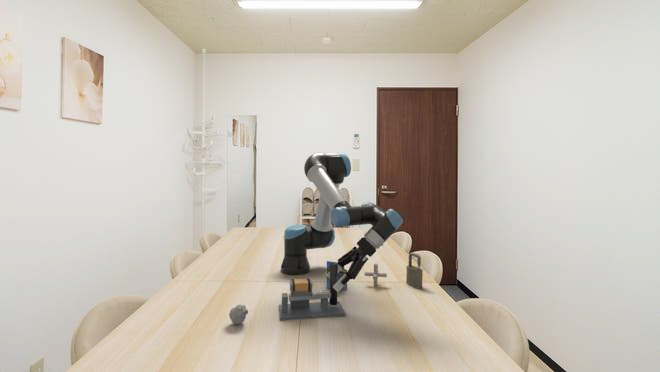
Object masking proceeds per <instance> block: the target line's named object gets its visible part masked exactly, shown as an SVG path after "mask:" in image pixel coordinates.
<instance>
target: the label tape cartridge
mask: <svg viewBox="0 0 660 372" xmlns="http://www.w3.org/2000/svg"><path fill="white" fill-rule="evenodd" d="M330 263H337V264H338V261H331V260H330V261H329V260H326V275H327V274H328V273H329V272H330ZM346 272H348V270H347V269H345V267H344V268H342V269H341V270H340V271H339V273H338V281H339V280H340V278H341V277H342V276H343V275H344V274H345V273H346ZM326 288H327V289H330V279H329V278H328V277H327V276H326ZM347 289H348V283H347V284H346V285H345V286H344V287H343V288H342V289H341V290H340V291H345V290H347Z"/></svg>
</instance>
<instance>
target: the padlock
mask: <svg viewBox="0 0 660 372" xmlns="http://www.w3.org/2000/svg"><path fill="white" fill-rule="evenodd" d="M413 257H414V258H417V266H416V265H412V263H413V262H412V261H413ZM421 261H422V258H421V256H420V255H419V254H418V253H415V252H410V253H409V254H408V265H406V279H405V280H406V282H405V283H406V284H407V285H408V286H411V287H413V288H415V289H421V288H423V274H424V273H423V271H424V270H423V269H422V268H421V264H422V262H421Z"/></svg>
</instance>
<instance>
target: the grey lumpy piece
mask: <svg viewBox="0 0 660 372" xmlns="http://www.w3.org/2000/svg"><path fill="white" fill-rule="evenodd" d="M248 314H249V310H248V308H246V304H237V305H236V306H235V307H232V308H230V310H229V314H228V316H229V319H230V321H231V323H233V324H234V325H236V326H238V325H242V324H243V323H244V322H245V320H246V318H247V317H246V316H247V315H248Z"/></svg>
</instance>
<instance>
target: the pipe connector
mask: <svg viewBox="0 0 660 372" xmlns="http://www.w3.org/2000/svg"><path fill="white" fill-rule="evenodd" d="M378 264H379V263H373V272H371V271H365V272H364V277H372V280H373V286H374V287H377V286H378V283H379V282H378V281H379V280H378V279H379V278H387V277H388V275H387V273H385V272H379V268H378V267H379V265H378Z"/></svg>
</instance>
